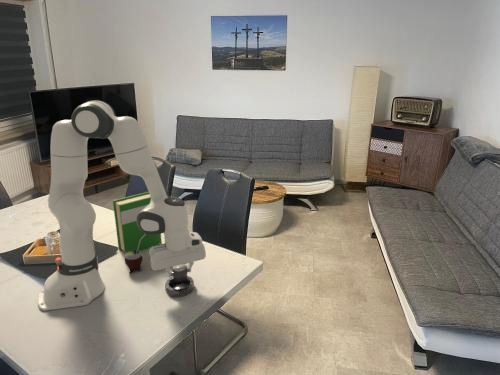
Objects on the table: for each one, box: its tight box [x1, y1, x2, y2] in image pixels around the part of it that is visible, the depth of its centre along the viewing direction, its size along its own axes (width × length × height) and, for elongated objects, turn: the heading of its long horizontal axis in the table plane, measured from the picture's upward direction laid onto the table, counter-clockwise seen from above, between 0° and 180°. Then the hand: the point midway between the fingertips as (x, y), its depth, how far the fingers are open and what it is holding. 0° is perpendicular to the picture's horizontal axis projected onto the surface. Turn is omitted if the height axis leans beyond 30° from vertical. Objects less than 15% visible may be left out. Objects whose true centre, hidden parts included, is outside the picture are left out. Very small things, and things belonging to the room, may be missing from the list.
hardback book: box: [112, 191, 163, 255], centre depth 171 cm, size 18×7×24 cm, turn 131°
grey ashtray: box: [164, 275, 195, 298], centre depth 144 cm, size 10×10×3 cm
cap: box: [171, 264, 188, 282], centre depth 142 cm, size 6×6×4 cm
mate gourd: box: [124, 234, 146, 274], centre depth 154 cm, size 8×8×15 cm
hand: (179, 273), depth 142 cm, fingers closed on cap, 5 cm apart
